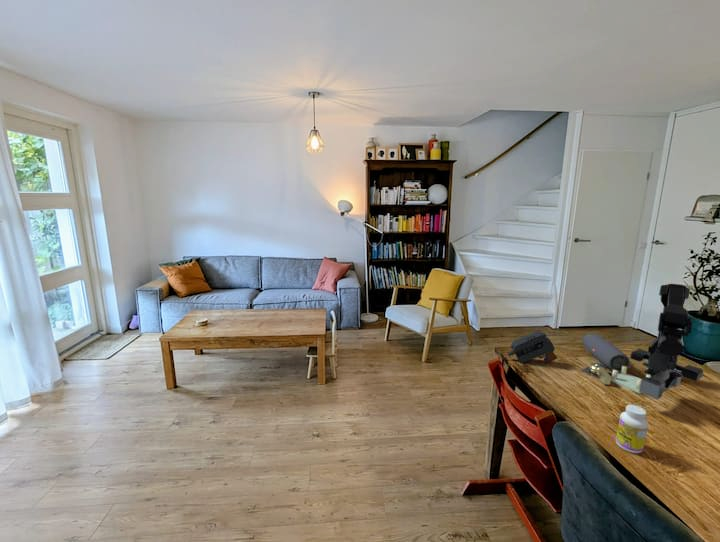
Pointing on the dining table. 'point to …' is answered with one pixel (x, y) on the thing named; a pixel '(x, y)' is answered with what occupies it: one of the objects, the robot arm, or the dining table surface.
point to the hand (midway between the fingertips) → (660, 385)
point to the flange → (592, 373)
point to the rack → (627, 379)
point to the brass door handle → (600, 372)
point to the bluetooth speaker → (605, 352)
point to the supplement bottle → (632, 429)
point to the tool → (533, 347)
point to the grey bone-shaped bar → (657, 384)
